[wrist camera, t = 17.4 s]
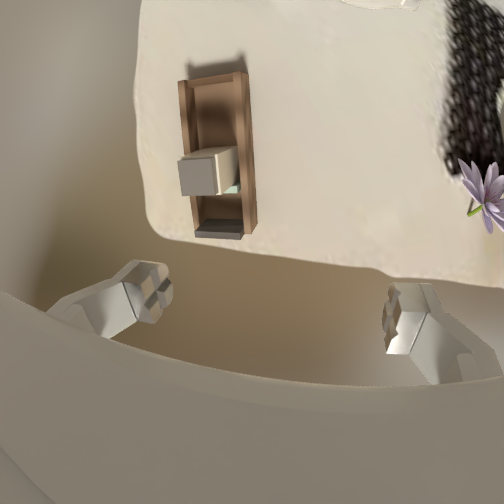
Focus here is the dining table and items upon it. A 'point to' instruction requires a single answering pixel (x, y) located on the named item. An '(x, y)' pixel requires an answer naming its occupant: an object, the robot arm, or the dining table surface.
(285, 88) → the dining table surface
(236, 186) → the plate
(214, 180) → the cream rectangular box
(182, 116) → the pusher lane
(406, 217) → the dining table surface
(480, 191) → the water lily
